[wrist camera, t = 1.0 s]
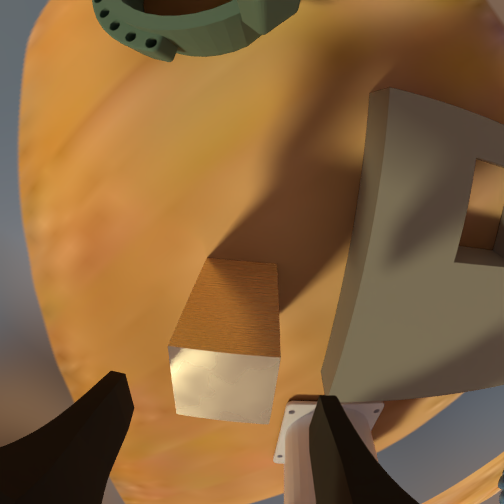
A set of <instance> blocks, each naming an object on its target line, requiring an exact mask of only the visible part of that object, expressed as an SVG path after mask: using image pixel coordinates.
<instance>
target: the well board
mask: <svg viewBox="0 0 504 504" xmlns="http://www.w3.org/2000/svg"><path fill="white" fill-rule="evenodd" d="M476 159H478V160H481V161H484V162H487V163H490V164H493V165H496V166H499V167H502V168H504V125H503V124H501V123H499V122H496V121H494V120H491V119H489V118H486V117H484V116H481V115H479V114H476V113H473V112H471V111H468V110H465V109H462V108H460V107H457V106H454V105H451V104H448V103H445V102H442V101H438V100H435V99H432V98H428V97H425V96H422V95H418V94H414V93H411V92H407V91H403V90H399V89H395V88H391V87H389V88H385V89H382V90H379V91H375V92H372V93H370V95H369V108H368V120H367V130H366V140H365V149H364V157H363V166H362V173H361V181H360V188H359V195H358V201H357V208H356V214H355V220H354V226H353V232H352V238H351V243H350V248H349V254H348V259H347V264H346V269H345V274H344V279H343V284H342V288H341V293H340V297H339V302H338V306H337V311H336V315H335V319H334V323H333V327H332V332H331V336H330V340H329V343H328V347H327V351H326V355H325V359H324V362H323V366H322V370H321V375H322V381H323V387H324V393H325V395H336V396H337V397H338V399H339V401H340V402H372V401H390V400H403V399H414V398H424V397H433V396H441V395H448V394H455V393H462V392H468V391H474V390H479V389H485V388H490V387H495V386H500V385H504V208H503V212H502V217H501V221H500V225H499V229H498V233H497V237H496V241H495V244H494V248H493V250H487V249H479V248H472V247H464V246H459V242H460V238H461V234H462V230H463V226H464V221H465V217H466V213H467V208H468V203H469V198H470V193H471V187H472V182H473V176H474V169H475V162H476Z"/></svg>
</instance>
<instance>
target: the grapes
mask: <svg viewBox="0 0 504 504" xmlns="http://www.w3.org/2000/svg"><path fill="white" fill-rule="evenodd" d="M498 488H500V489H503V491H502V492H501V494H500V498H499V501H500V504H504V471H503V474H502V476H501V477H500V479H499V482H498Z"/></svg>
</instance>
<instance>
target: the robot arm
mask: <svg viewBox="0 0 504 504" xmlns="http://www.w3.org/2000/svg"><path fill="white" fill-rule="evenodd" d="M383 407H384V402H383V401H372V402H340V401H339V399H338V397H337V396H336V395H319V398H318V401H290V402H288V403H287V404H286V408H285V412H284V417H283V421H282V425H281V429H280V433H279V438H278V442H277V446H276V450H275V454H274V457H273V462H275V463H284V504H419V503H418V502H417V501H416V500H414V499H413V498H412V497H411V496H410V495H409V494H408V493H406V492H405V491H404V490H403V489H402V488H401V487H400V486H399V485H398V484H397V483H396V482H395V481H394V480H393V479H392V478H391V477H390V476H389V475H388V474H387V472H386V471H385V470H384V469H383V468H382V467H381V465H380V464H379V463H378V459H377V454H376V450H375V446H374V442H373V438H372V434H371V430H372V428H373V426H374V424H375V423H376V421H377V419H378V417H379V415H380V413H381V411H382V409H383ZM291 410H292V411H291ZM133 411H134V405H133V401H132V398H131V394H130V390H129V386H128V382H127V378H126V374H124V373H119V372H115V371H110V372H109V373H108V374H107V375H106V376H105V377H103V378H102V379H101V380H100V381H99V382H98V383H97V384H96V385H95V386H93V387H92V388H91V389H90V390H89V391H88V392H87V393H86V394H84V395H83V396H82V397H81V398H80V399H79V400H77V401H76V402H75V403H74V404H73V405H72V406H71V407H69V408H68V409H66V410H65V411H64V412H63V413H62V414H60V415H59V416H57V417H56V418H55V419H53V420H52V421H50V422H49V423H47V424H46V425H44V426H43V427H41V428H40V429H38V430H36V431H34V432H33V433H31V434H29V435H27V436H25V437H23V438H21V439H19V440H17V441H15V442H13V443H10V444H8V445H6V446H3V447H0V504H101V503H102V499H103V495H104V491H105V487H106V483H107V480H108V477H109V474H110V471H111V469H112V467H113V464H114V462H115V460H116V457H117V455H118V453H119V450H120V448H121V446H122V443H123V441H124V438H125V436H126V434H127V431H128V429H129V425H130V422H131V418H132V414H133Z"/></svg>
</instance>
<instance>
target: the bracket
mask: <svg viewBox="0 0 504 504" xmlns="http://www.w3.org/2000/svg"><path fill="white" fill-rule="evenodd" d="M92 3H93V8H94V12H95V15H96V18H97V20H98V21H99V23H100V25H101V26H102V28H103V29H104V30H105V31H106V32H107V33H108V34H109V35H110V36H111V37H112V38H114V39H115V40H117V41H119V42H120V43H122V44H124V45H126V46H128V47H130V48H132V49H134V50H136V51H138V52H140V53H142V54H144V55H146V56H149V57H151V58H154V59H158V60H162V61H166V62H171V61H173V59H174V57H175V54H176V53H178V54H183V55H188V56H201V57H207V56H216V55H223V54H226V53H230V52H234V51H237V50H239V49H242V48H244V47H247V46H248V45H250V44H251V43H252V42H253V41H255V40H256V39H257V38H259V37H260V36H261V35H265V34H267V33H268V32H270V31H271V30H272V29H274V28H275V27H277V26H278V25H279V24H281V23H282V22H284V21H285V20H286V19H288V18H289V17H291V16H292V15H294V14H295V13H296V12H297V11H298V8H299V4H300V0H232V1H231V2H229V3H226V4H223V5H221V6H218V7H216V8H213V9H210V10H206V11H202V12H198V13H194V14H187V15H179V16H160V15H153V14H147V13H144V7H143V4H144V0H92Z"/></svg>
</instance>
